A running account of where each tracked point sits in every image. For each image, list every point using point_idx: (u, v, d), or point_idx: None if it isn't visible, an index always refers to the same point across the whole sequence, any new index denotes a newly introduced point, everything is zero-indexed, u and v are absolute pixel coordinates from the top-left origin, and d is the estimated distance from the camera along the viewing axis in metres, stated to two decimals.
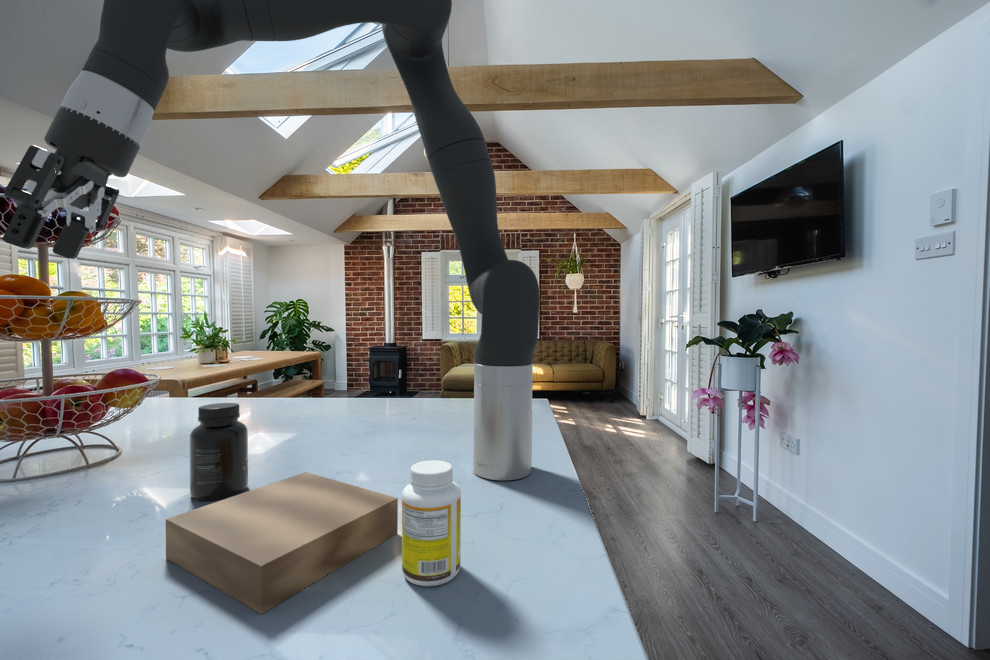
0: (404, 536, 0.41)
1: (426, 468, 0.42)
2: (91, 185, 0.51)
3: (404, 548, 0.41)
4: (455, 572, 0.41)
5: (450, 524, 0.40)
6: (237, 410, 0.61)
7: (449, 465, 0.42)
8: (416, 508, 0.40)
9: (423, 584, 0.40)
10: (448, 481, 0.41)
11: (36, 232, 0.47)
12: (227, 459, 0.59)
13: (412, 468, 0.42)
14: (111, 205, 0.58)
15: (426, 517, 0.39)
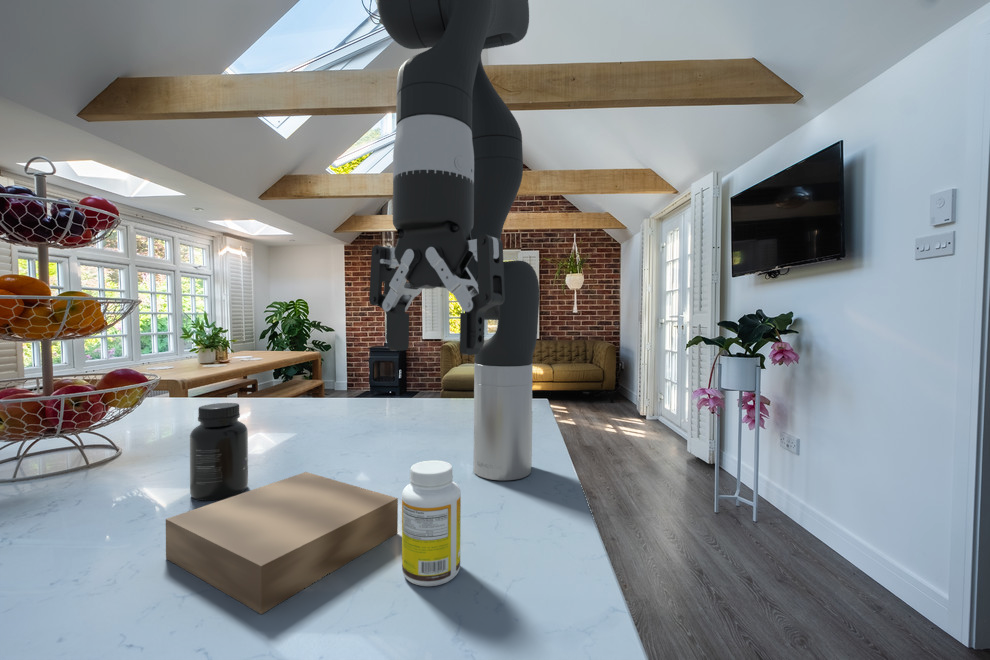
0: (404, 536, 0.41)
1: (426, 468, 0.42)
2: None
3: (404, 548, 0.41)
4: (455, 572, 0.41)
5: (450, 524, 0.40)
6: (237, 410, 0.61)
7: (449, 465, 0.42)
8: (416, 508, 0.40)
9: (423, 584, 0.40)
10: (448, 481, 0.41)
11: None
12: (227, 459, 0.59)
13: (412, 468, 0.42)
14: None
15: (426, 517, 0.39)
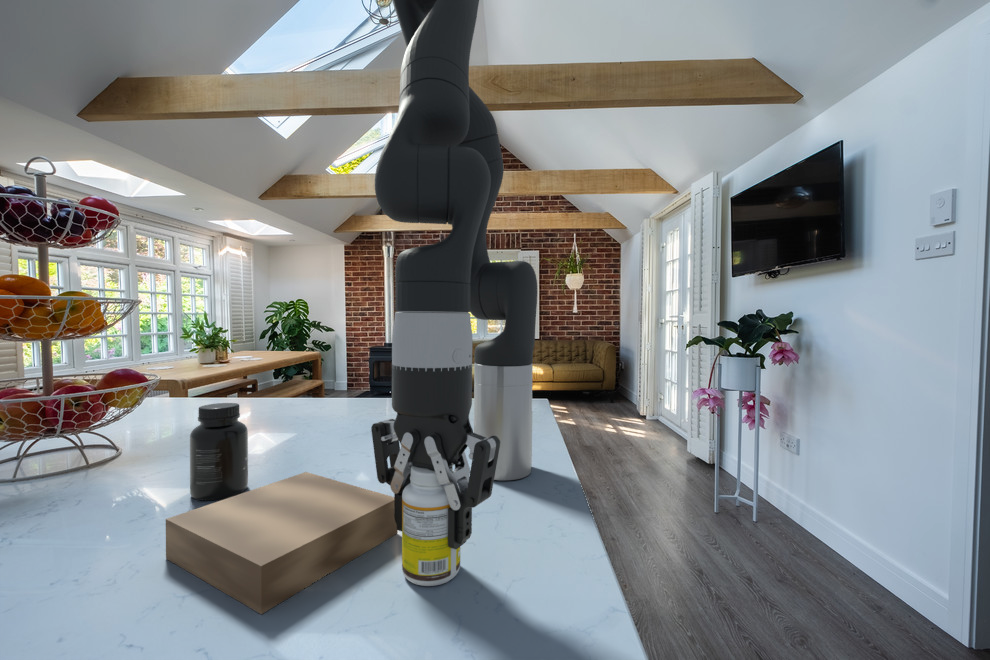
0: (404, 536, 0.41)
1: (426, 468, 0.42)
2: None
3: (404, 548, 0.41)
4: (455, 571, 0.41)
5: None
6: (237, 410, 0.61)
7: None
8: (416, 508, 0.40)
9: (423, 584, 0.40)
10: None
11: None
12: (227, 459, 0.59)
13: (412, 468, 0.42)
14: None
15: (426, 516, 0.39)
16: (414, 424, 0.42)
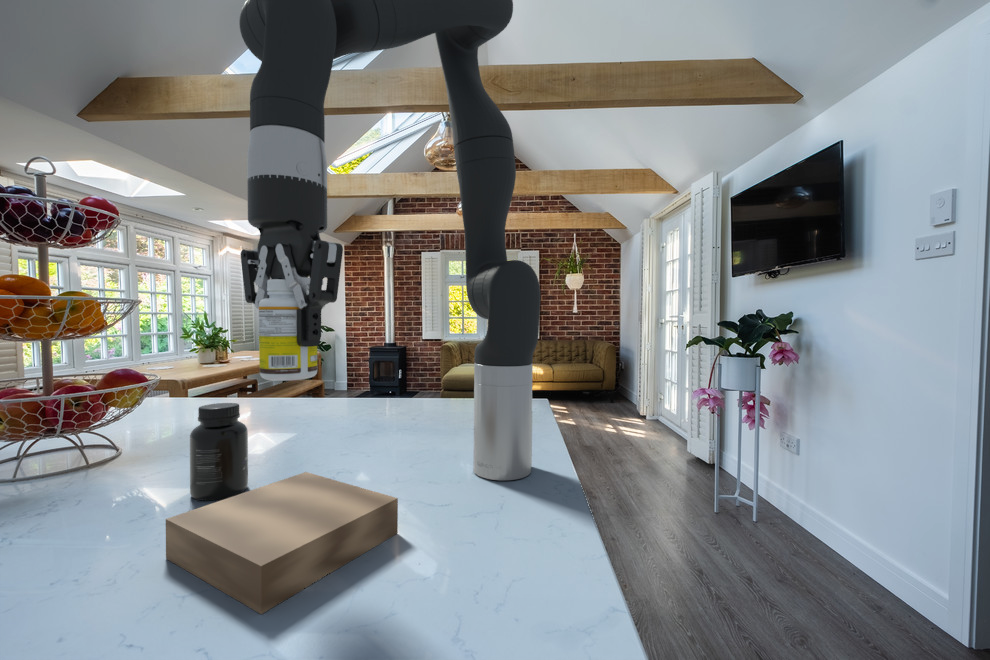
0: (259, 338, 0.45)
1: None
2: None
3: (259, 349, 0.45)
4: (306, 372, 0.45)
5: None
6: (237, 410, 0.61)
7: None
8: (266, 308, 0.44)
9: (273, 377, 0.44)
10: None
11: None
12: (227, 459, 0.59)
13: None
14: None
15: (275, 315, 0.44)
16: (271, 241, 0.46)
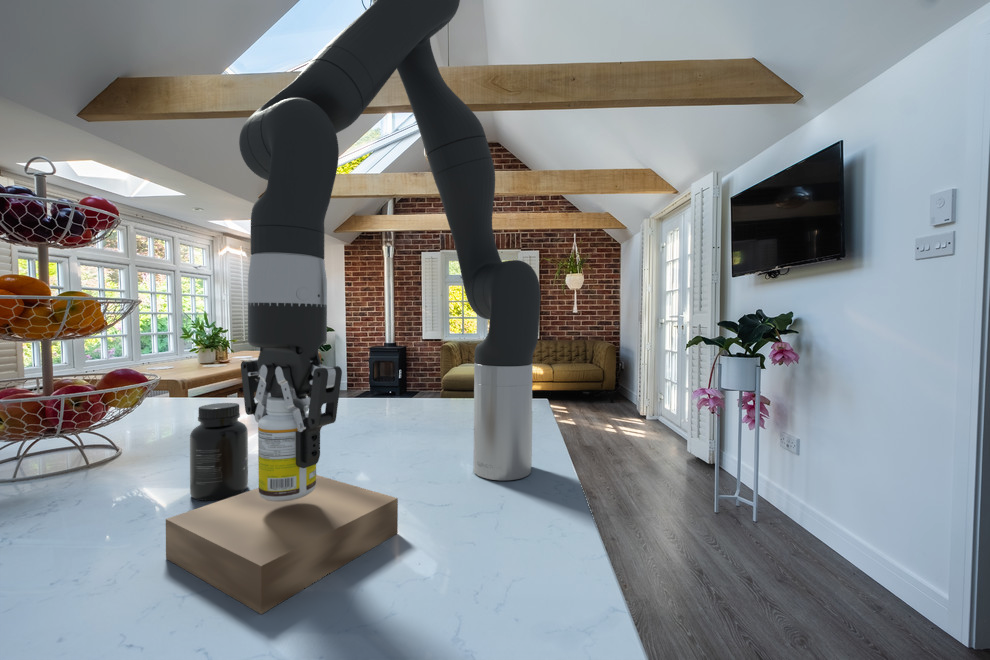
0: (258, 458, 0.45)
1: (281, 398, 0.46)
2: None
3: (258, 468, 0.45)
4: (305, 490, 0.46)
5: None
6: (237, 410, 0.61)
7: None
8: (265, 431, 0.44)
9: (272, 499, 0.44)
10: None
11: None
12: (227, 459, 0.59)
13: None
14: None
15: (274, 438, 0.44)
16: (271, 358, 0.46)
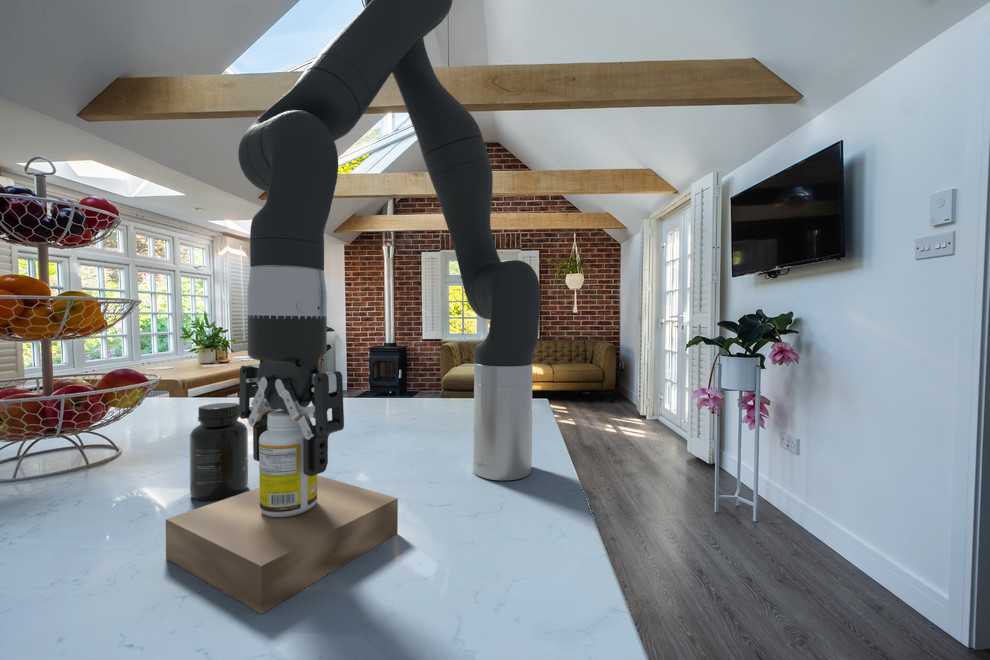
0: None
1: (282, 413, 0.46)
2: None
3: None
4: (306, 506, 0.46)
5: (299, 462, 0.45)
6: (237, 410, 0.61)
7: None
8: (266, 447, 0.44)
9: (273, 515, 0.44)
10: None
11: None
12: (227, 459, 0.59)
13: (269, 413, 0.46)
14: None
15: (275, 454, 0.44)
16: (271, 370, 0.46)
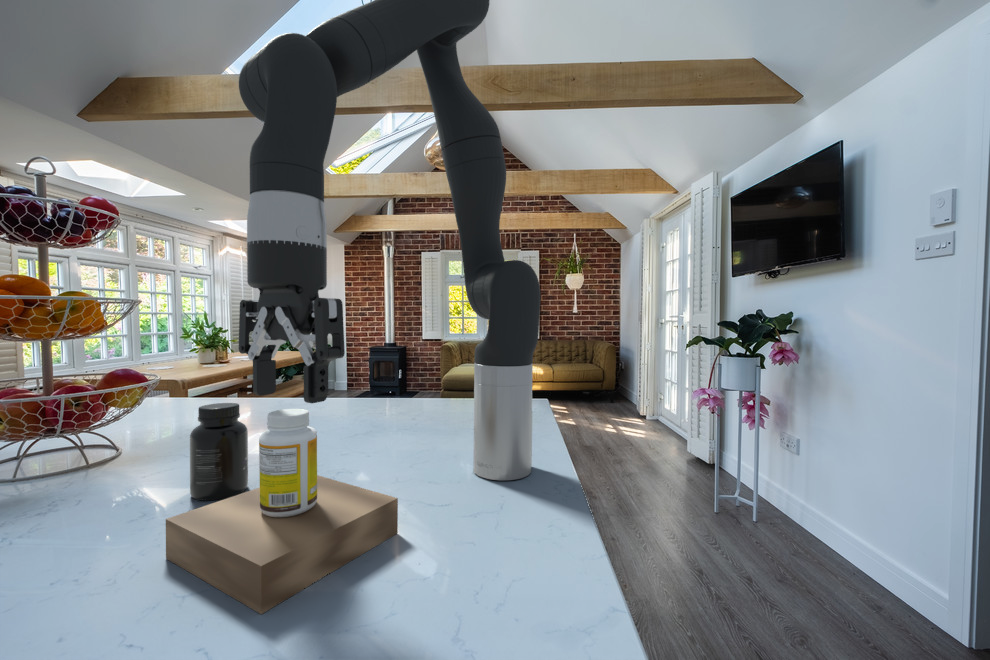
0: None
1: (282, 413, 0.46)
2: None
3: None
4: (306, 506, 0.46)
5: (299, 462, 0.45)
6: (237, 410, 0.61)
7: (305, 411, 0.47)
8: (266, 447, 0.44)
9: (273, 515, 0.44)
10: (300, 424, 0.46)
11: None
12: (227, 459, 0.59)
13: (269, 413, 0.46)
14: None
15: (275, 454, 0.44)
16: (271, 301, 0.46)
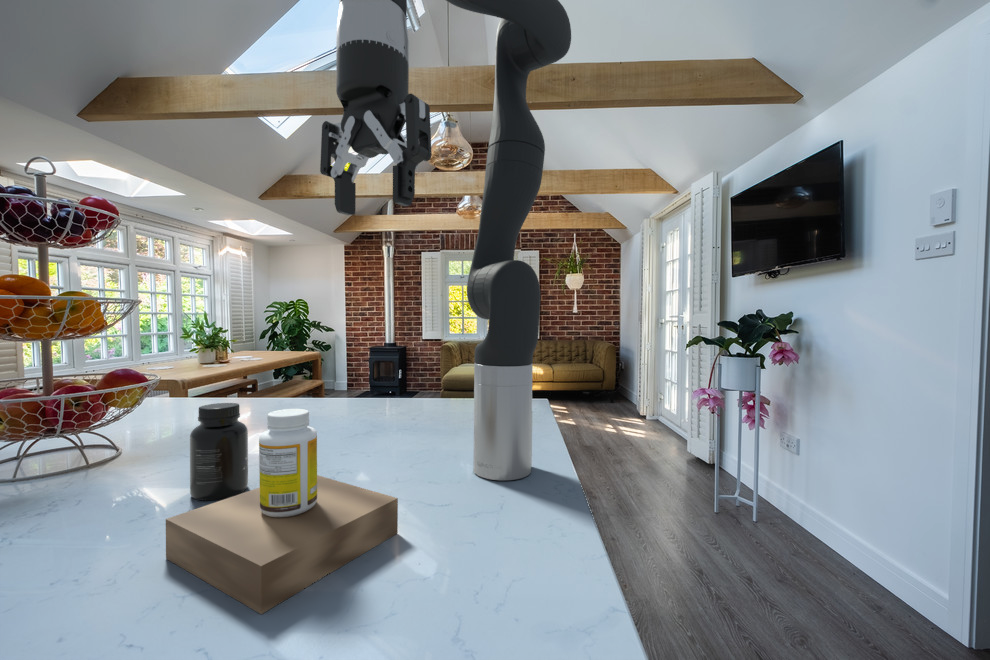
0: None
1: (282, 413, 0.46)
2: None
3: None
4: (306, 506, 0.46)
5: (299, 462, 0.45)
6: (237, 410, 0.61)
7: (305, 411, 0.47)
8: (266, 447, 0.44)
9: (273, 515, 0.44)
10: (300, 424, 0.46)
11: None
12: (227, 459, 0.59)
13: (269, 413, 0.46)
14: None
15: (275, 454, 0.44)
16: (357, 113, 0.48)
